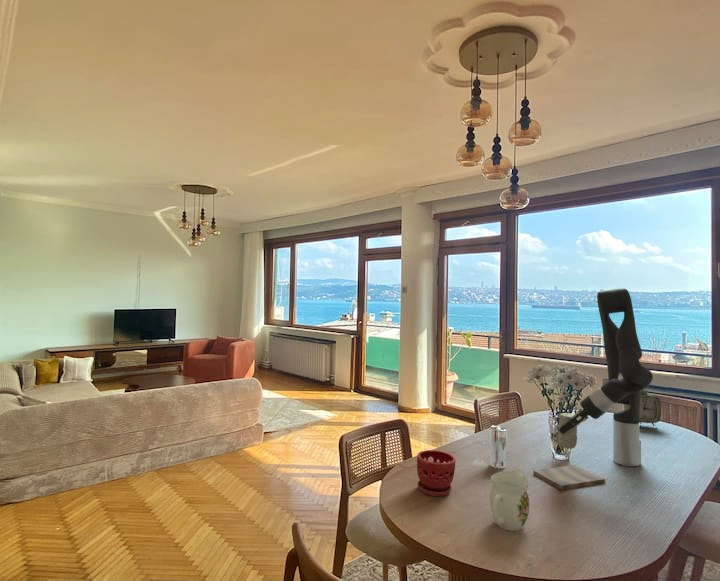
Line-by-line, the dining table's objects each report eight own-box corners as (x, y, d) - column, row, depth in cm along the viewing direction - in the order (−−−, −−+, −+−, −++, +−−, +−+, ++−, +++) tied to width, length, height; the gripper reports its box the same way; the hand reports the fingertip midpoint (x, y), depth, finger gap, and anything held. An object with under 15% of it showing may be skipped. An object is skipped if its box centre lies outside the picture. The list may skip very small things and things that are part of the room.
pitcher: (475, 530, 122) (476, 482, 122) (503, 509, 135) (503, 465, 135) (513, 546, 114) (513, 494, 115) (538, 521, 128) (538, 475, 128)
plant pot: (431, 502, 139) (432, 465, 139) (409, 486, 150) (409, 452, 151) (463, 494, 145) (463, 459, 145) (438, 480, 156) (439, 447, 157)
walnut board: (574, 468, 169) (574, 464, 169) (605, 483, 156) (605, 479, 156) (533, 474, 163) (533, 470, 163) (561, 489, 150) (561, 485, 150)
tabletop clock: (631, 428, 226) (631, 381, 227) (623, 423, 235) (623, 378, 236) (661, 430, 224) (661, 382, 224) (652, 425, 233) (652, 379, 233)
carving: (564, 450, 155) (564, 416, 156) (554, 443, 163) (554, 411, 163) (581, 450, 155) (581, 416, 156) (570, 443, 163) (570, 411, 163)
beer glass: (508, 470, 167) (508, 431, 167) (489, 468, 168) (490, 430, 169) (505, 463, 174) (506, 426, 174) (487, 461, 175) (488, 425, 175)
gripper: (593, 391, 161) (560, 417, 167) (585, 397, 149) (550, 425, 156) (610, 408, 157) (575, 433, 164) (603, 415, 146) (566, 442, 153)
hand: (563, 429), depth 160 cm, fingers closed on carving, 7 cm apart
